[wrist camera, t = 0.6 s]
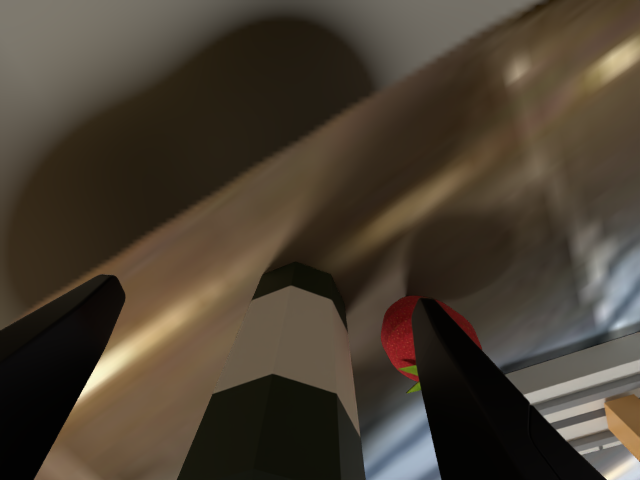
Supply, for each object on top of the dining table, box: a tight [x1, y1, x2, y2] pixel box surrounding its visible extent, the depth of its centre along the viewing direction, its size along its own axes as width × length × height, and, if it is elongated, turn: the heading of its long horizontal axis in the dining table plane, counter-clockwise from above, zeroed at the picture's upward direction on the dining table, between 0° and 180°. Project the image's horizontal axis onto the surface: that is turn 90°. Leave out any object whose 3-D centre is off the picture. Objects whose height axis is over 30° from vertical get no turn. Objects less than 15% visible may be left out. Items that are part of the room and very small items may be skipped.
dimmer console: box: [505, 332, 640, 455], centre depth 29 cm, size 20×10×3 cm, turn 114°
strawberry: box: [381, 296, 482, 393], centre depth 22 cm, size 6×8×10 cm
